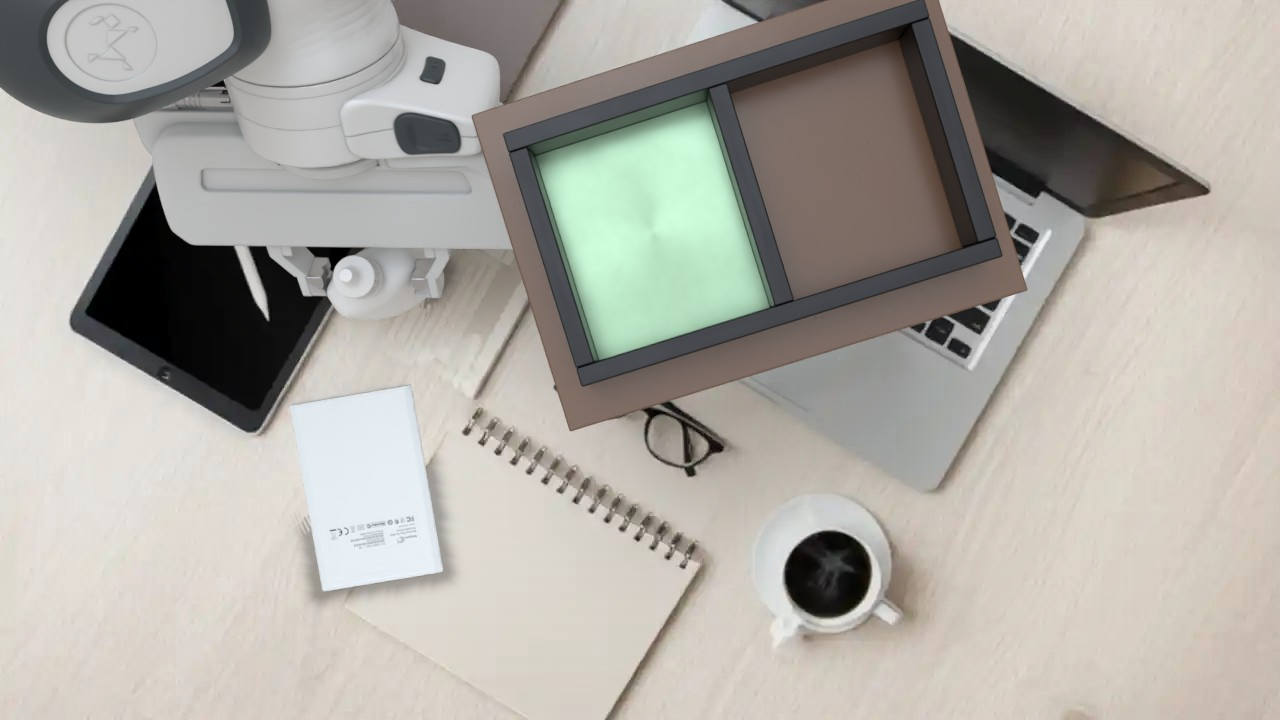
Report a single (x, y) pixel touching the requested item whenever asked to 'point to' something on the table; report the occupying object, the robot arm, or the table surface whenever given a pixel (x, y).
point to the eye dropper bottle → (375, 283)
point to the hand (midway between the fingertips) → (375, 290)
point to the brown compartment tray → (748, 203)
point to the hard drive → (366, 488)
